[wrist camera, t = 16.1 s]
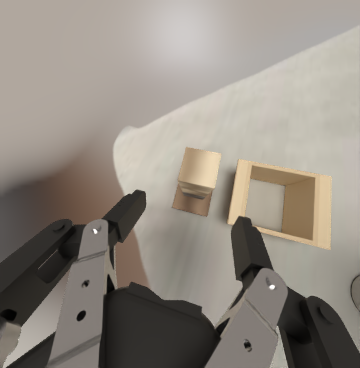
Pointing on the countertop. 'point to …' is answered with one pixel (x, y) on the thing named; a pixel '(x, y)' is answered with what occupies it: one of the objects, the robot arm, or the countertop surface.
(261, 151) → the countertop surface
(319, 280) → the countertop surface
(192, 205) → the walnut board
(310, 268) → the countertop surface
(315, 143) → the countertop surface
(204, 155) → the block
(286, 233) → the carton
